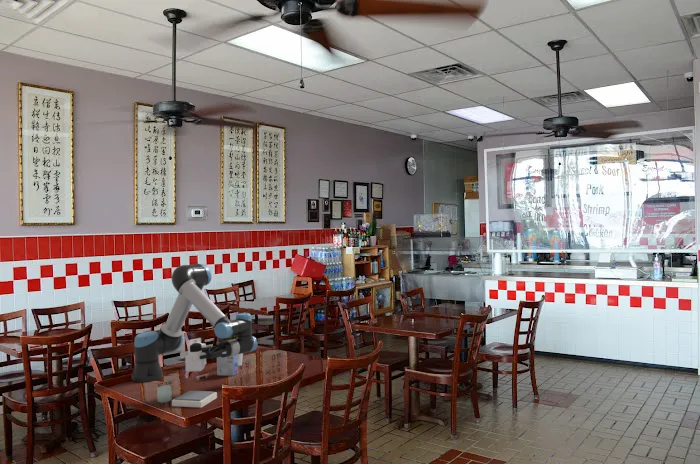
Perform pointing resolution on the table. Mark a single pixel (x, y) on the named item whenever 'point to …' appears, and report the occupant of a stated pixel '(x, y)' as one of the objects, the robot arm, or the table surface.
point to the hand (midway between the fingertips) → (186, 357)
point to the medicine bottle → (191, 366)
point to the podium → (194, 399)
